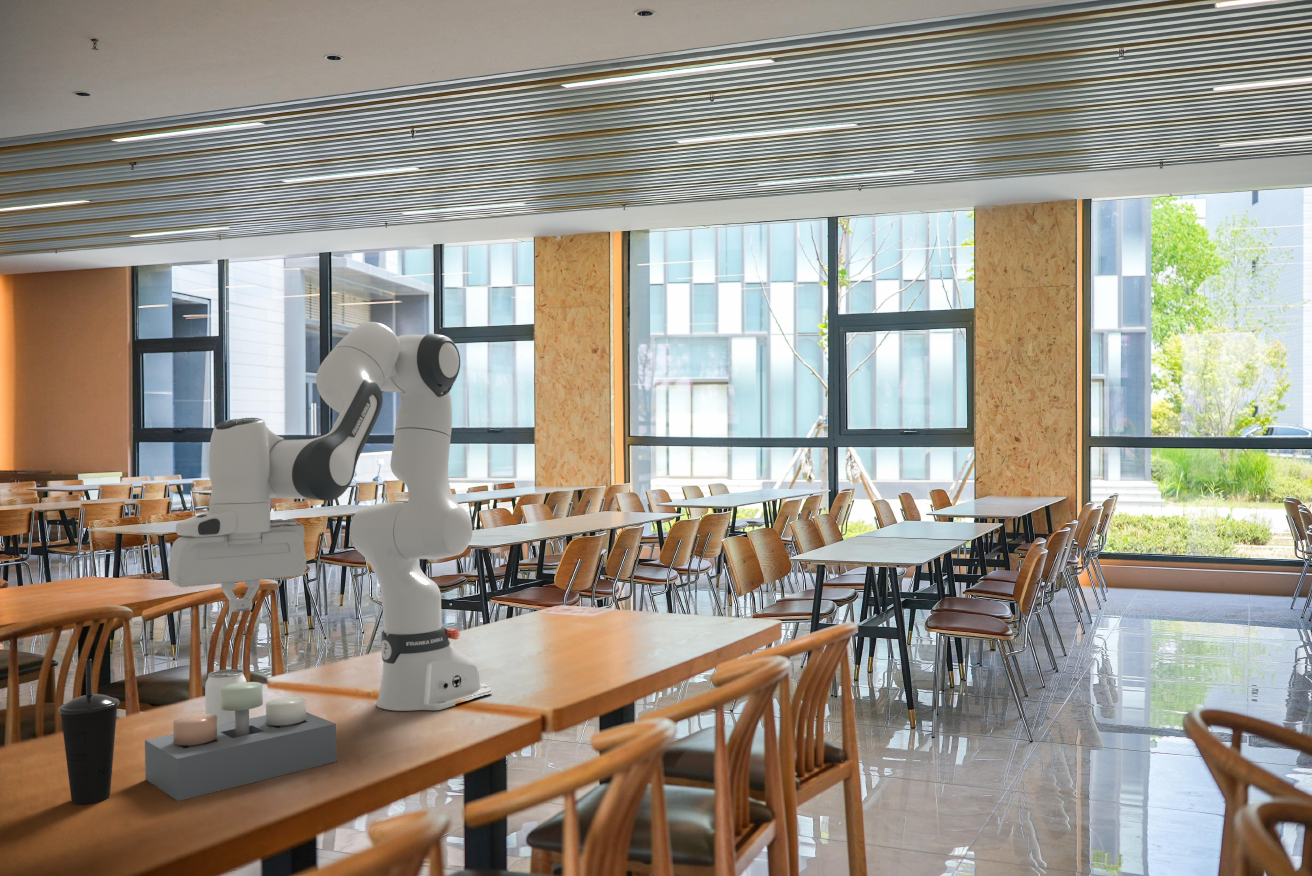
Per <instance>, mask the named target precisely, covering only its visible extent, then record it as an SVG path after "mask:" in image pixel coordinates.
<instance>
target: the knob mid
mask: <svg viewBox="0 0 1312 876" xmlns="http://www.w3.org/2000/svg"><path fill="white" fill-rule="evenodd" d="M263 698H264V697H263V683H262V682H259V681H246V682H242V683H234V684H229V685H226V686H223V687H221V709H222V710H226V711H235V733H236V737H240V736H245V735H249V718H250V710H251V709H255V708H259V707H261V706H262V705H263V704H264V702H263Z"/></svg>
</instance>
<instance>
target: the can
mask: <svg viewBox="0 0 1312 876" xmlns="http://www.w3.org/2000/svg"><path fill="white" fill-rule="evenodd" d="M242 682H247V679H246V676H245V675H244V670H243V669H239V668H238V669H237V668H235V669H234V668H231V669H221V670H216V671H211V672H209V673H208V674H207V680H206V682H205V685H204V686H205V687H204V691H205V692H204V693H205V695H204V698H205V699H204V700H205V702H204V703H205V704H204V705H205V706H204V707H205V714H212V715H216V716H217V725H220V724H225V723H230V722H235V711H226V710H222V709H221V687H223V686H226V685H229V684H234V683H242Z"/></svg>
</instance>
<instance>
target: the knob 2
mask: <svg viewBox="0 0 1312 876" xmlns="http://www.w3.org/2000/svg"><path fill="white" fill-rule="evenodd" d="M306 712H307V699H306V698H305V697H303V696H286V697H279V698H274V699H271V700H268V701H267V702H266V703H265V715H266V723H267V724H269V725H280V728H282V727H287V726H291V725H293V724H295V723H299V722H302V721H304V720H305V719H306Z"/></svg>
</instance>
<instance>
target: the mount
mask: <svg viewBox="0 0 1312 876" xmlns="http://www.w3.org/2000/svg"><path fill="white" fill-rule="evenodd" d="M337 749H338V748H337V723H335V722H333V721H330V720H328V719H325V718H323V717H320V716H317V715H314V714H313V713H309V712H307V711H306V719H305V720H304V721H302V722H299V723H295V724H293V725H291V726H287V727H282V728H280V725H269V724H267V723H266V714H264V715H259V716H256V717H249V735H245V736H240V737H236V733H235V722H230V723H225V724H220V725H217V738H216V739H214V740H212V741H210V742H206V743H203V745H199V746H194V747H189V748H188V745H177V744H174V737H173V734H168V735H161V736H157V737H153V738H148V739H144V755H145V756H144V762H145V763H144V765H145V766H144V770H145V772H144V774H145V776H144V777H145V780H146V781H147V780H148V781H147V782H149V783H150V782H151V783H150V784H152V785H153V784H154V785H153V786H154V787H156V786H157V787H156V788H158V789H159V790H161V791H162V792H164V793H165V794H166V795H168V796H170V797H171V798H173V800H175V801H177V802H180V801H184V800H187V799H188V800H189V799H193V798H195V797H201V796H204V794H205V795H208V793H209V794H212V793H211V792H213V793H216V792H215V791H217V792H219V791H218V790H221V791H224V789H225V790H229V789H232V788H236V787H242V786H244V785H248V784H252V783H255V782H256V783H257V782H261V781H264V780H269V779H272V778H277V777H280V776H285V775H289V774H293V773H297V772H300V771H305V770H309V769H313V768H317V767H320V765H321V766H324V765H323V764H325V765H329V764H332V762H333V763H337V762H336V761H338V754H337V753H338V752H337V751H338V750H337ZM328 763H329V764H328ZM316 766H317V767H316ZM312 767H313V768H312ZM200 795H201V796H200Z"/></svg>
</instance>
